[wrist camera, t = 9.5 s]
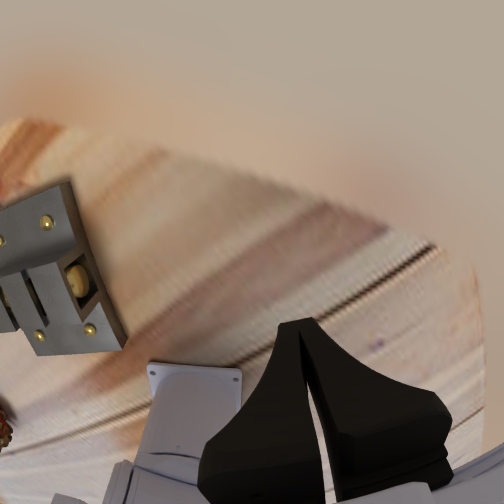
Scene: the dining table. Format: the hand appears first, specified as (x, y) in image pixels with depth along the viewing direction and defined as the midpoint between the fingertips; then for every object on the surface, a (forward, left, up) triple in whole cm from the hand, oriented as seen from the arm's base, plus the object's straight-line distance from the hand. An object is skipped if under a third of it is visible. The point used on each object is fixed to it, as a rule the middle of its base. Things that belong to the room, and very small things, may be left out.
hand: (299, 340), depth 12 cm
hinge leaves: (-3, +18, -10) cm, 21 cm away
